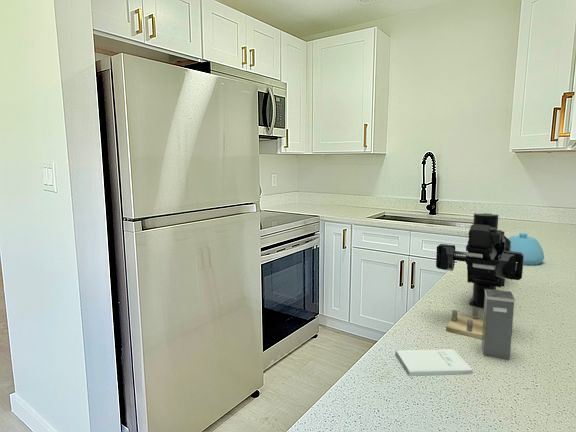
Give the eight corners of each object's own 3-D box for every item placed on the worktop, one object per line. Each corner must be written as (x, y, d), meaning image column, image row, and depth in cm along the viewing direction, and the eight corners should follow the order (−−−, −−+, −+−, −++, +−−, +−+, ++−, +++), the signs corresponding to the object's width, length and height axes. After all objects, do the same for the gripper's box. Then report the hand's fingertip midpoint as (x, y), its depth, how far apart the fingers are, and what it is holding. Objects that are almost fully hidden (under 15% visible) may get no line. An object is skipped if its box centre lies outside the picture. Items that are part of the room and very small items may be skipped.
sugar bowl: (518, 255, 160) (520, 228, 159) (552, 264, 146) (555, 235, 144) (491, 258, 156) (493, 231, 154) (524, 268, 141) (526, 238, 140)
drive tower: (481, 345, 83) (484, 288, 81) (506, 349, 81) (510, 291, 79) (483, 355, 78) (487, 296, 76) (510, 360, 76) (514, 299, 74)
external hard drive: (395, 356, 79) (452, 354, 80) (408, 378, 71) (472, 376, 72) (395, 349, 79) (452, 347, 80) (409, 370, 71) (472, 368, 72)
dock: (454, 316, 98) (455, 303, 97) (497, 325, 92) (498, 312, 92) (445, 330, 90) (446, 317, 89) (492, 341, 84) (493, 327, 84)
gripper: (445, 221, 100) (430, 230, 88) (527, 227, 90) (523, 238, 77) (443, 261, 102) (428, 275, 89) (523, 271, 91) (519, 290, 79)
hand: (471, 269), depth 84 cm, fingers open, 9 cm apart
